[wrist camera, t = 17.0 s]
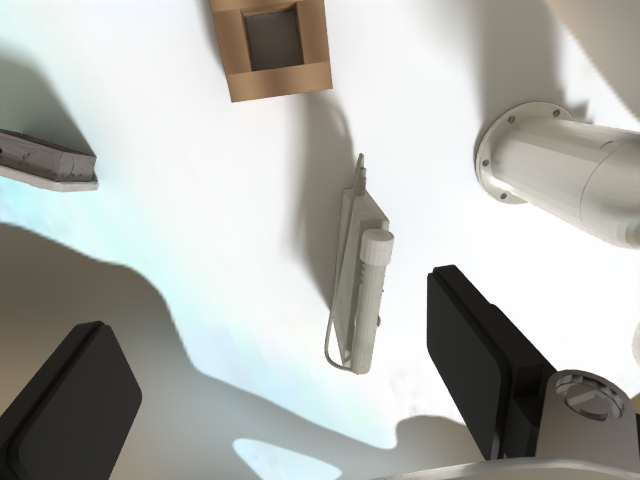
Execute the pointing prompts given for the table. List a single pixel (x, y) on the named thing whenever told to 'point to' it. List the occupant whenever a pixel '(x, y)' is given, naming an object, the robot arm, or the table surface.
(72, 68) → the table surface
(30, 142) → the electrical switch
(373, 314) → the geiger counter
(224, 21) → the brown square frame
